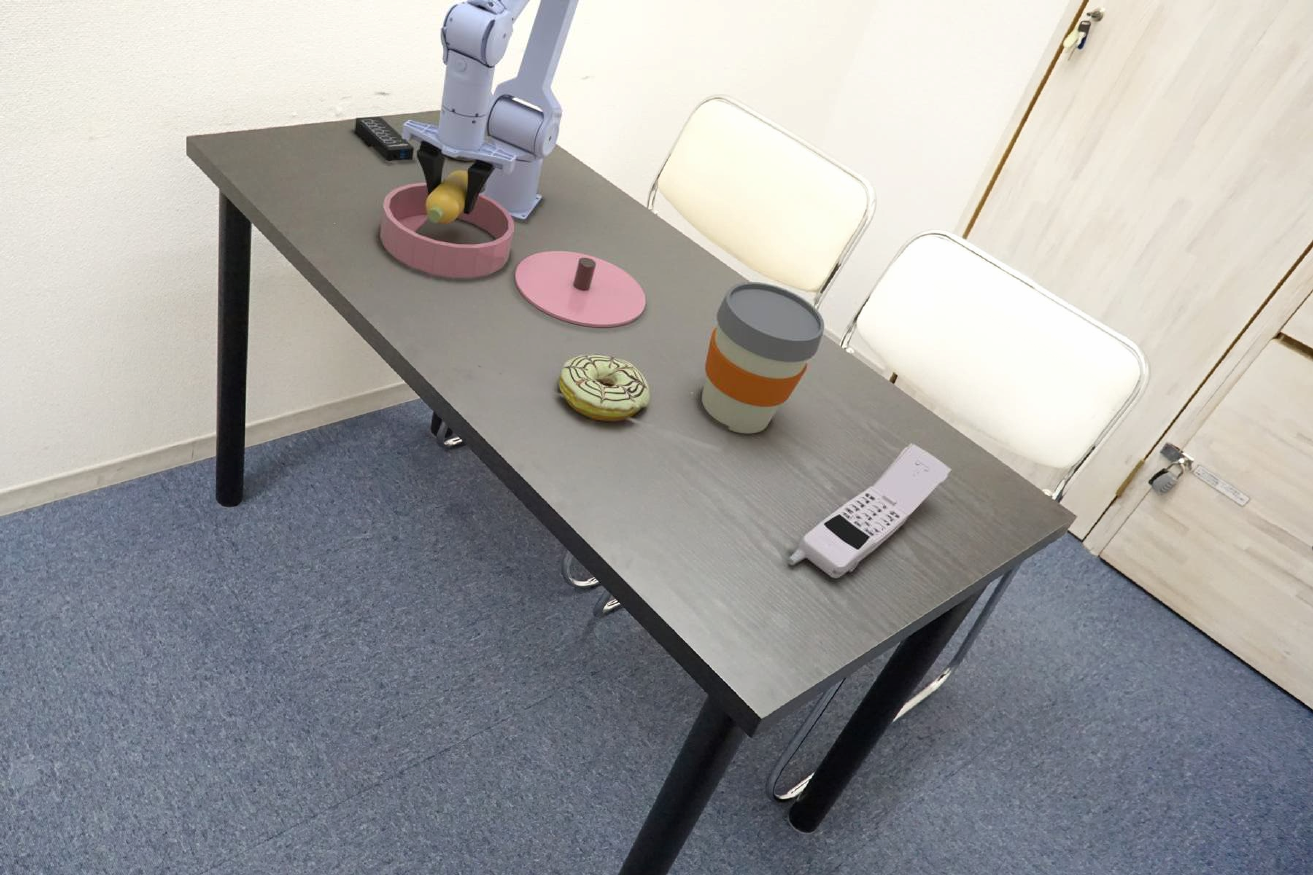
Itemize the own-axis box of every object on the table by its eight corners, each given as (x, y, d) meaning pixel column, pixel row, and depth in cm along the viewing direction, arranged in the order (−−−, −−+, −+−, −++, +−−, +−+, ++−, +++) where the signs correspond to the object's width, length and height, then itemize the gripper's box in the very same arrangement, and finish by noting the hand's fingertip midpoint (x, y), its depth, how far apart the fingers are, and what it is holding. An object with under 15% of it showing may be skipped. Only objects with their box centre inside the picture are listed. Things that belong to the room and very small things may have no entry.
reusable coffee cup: (717, 448, 112) (758, 345, 103) (670, 382, 120) (704, 281, 111) (801, 437, 119) (847, 339, 109) (751, 376, 126) (790, 279, 117)
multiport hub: (379, 130, 153) (380, 116, 152) (413, 162, 148) (415, 148, 146) (353, 131, 150) (354, 117, 149) (387, 164, 145) (388, 149, 144)
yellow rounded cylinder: (449, 190, 132) (453, 161, 129) (479, 200, 132) (484, 171, 129) (415, 226, 122) (419, 195, 120) (448, 237, 122) (452, 206, 120)
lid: (536, 244, 138) (542, 213, 135) (654, 284, 138) (663, 255, 135) (495, 302, 124) (501, 269, 121) (628, 347, 124) (637, 315, 121)
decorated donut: (661, 414, 114) (670, 390, 112) (592, 437, 108) (600, 412, 105) (608, 365, 119) (616, 340, 117) (539, 383, 113) (546, 358, 110)
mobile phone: (954, 468, 112) (847, 556, 94) (933, 505, 115) (825, 596, 98) (912, 440, 114) (799, 520, 97) (892, 476, 118) (780, 560, 100)
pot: (410, 203, 138) (414, 170, 135) (523, 241, 138) (529, 209, 135) (358, 253, 124) (361, 218, 121) (483, 295, 124) (490, 261, 121)
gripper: (396, 97, 116) (386, 198, 124) (510, 136, 116) (492, 234, 124) (419, 81, 121) (408, 179, 129) (527, 118, 121) (509, 213, 130)
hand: (450, 205), depth 127 cm, fingers closed on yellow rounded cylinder, 4 cm apart
